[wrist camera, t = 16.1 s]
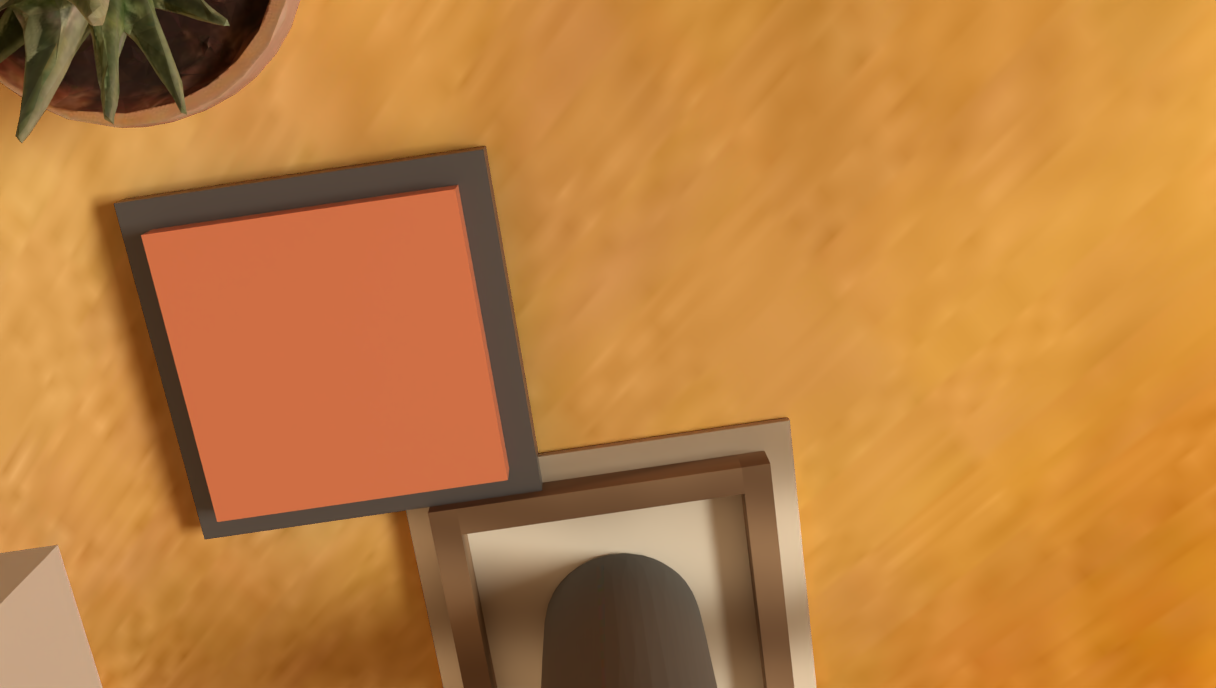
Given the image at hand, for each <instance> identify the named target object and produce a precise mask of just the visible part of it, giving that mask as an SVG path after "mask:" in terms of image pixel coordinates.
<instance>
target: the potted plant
mask: <svg viewBox="0 0 1216 688" xmlns="http://www.w3.org/2000/svg"><path fill="white" fill-rule="evenodd" d="M299 2H300V0H0V82H1V83H2V84H4V85H5V86H7V87H8V88H9V89H11V90H12V91H13V92H15V93H16V94H18V95H19V96H21V97H22V103H21V111H20V118H19V122H18V127H17V131H16V137H17V138H18V140H19V141H20V142H21V143H23V141H24V140H25V139H26V138H27V137H28V136H29V135H30V133H31V131H32V130H33V128H34V127H35V125H36V124H37V122H38V121H39V119H40V118H41V116H42V115H43V113H44V112H45V110H48V111H51V112H53V113H55V114H57V115H60V116H62V117H64V118H66V119H70V120H76V121H82V122H88V123H94V124H100V125H106V126H111V127H122V128H128V127H149V126H154V125H159V124H165V123H170V122H174V121H177V120H180V119H183V118H185V117H188V116H191V115H194V114H197V113H200V112H202V111H205V110H207V109H209V108H211V107H213V106H215V105H216V104H218V103H220V102H222V101H224V100H225V99H227V98H229V97H231V96H233V95H234V94H236V93H237V92H238V91H240V90H241V89H242V88H243V87H245V86H246V85H247V84H248V83H250V82H251V81H252V80H253V79H254V78H256V77H257V76H258V74H259V73H260V72H261V71H262V70H263V69H264V67H265V66H266V65H267V64H268V63H269V62H270V60H271V59H272V58H273V57H274V56H275V55H276V53H277V52H278V50H279V48H280V46H281V45H282V43H283V41H284V39H285V38H286V36H287V34H288V32H289V31H290V29H291V26H292V23H293V20H294V17H295V14H296V11H297V8H298V5H299Z"/></svg>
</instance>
